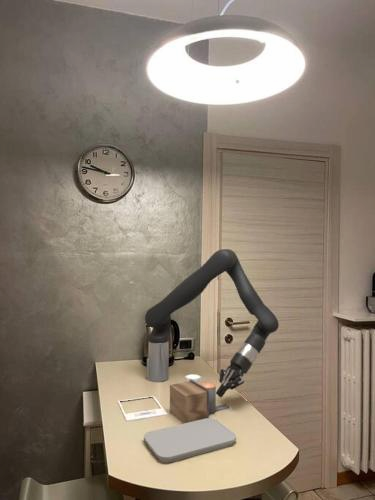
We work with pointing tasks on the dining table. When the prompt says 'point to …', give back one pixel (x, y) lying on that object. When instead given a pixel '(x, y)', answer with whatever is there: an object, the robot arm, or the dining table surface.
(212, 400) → the push knob
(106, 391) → the dining table surface
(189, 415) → the brown rectangular block
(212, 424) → the tablet
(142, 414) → the photo frame
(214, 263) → the robot arm
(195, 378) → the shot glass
